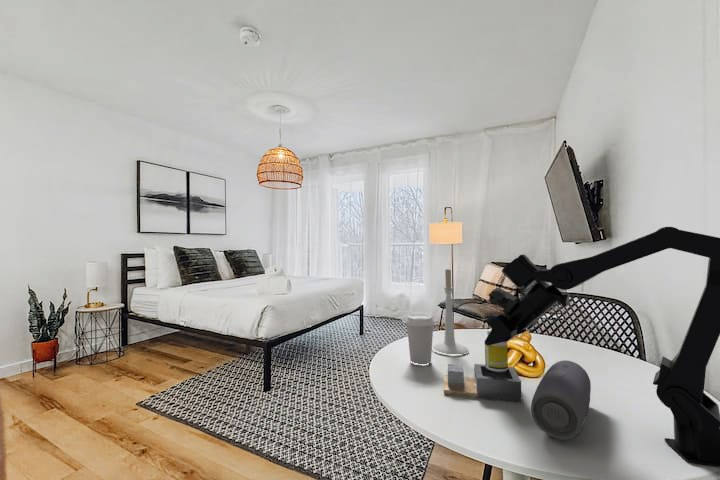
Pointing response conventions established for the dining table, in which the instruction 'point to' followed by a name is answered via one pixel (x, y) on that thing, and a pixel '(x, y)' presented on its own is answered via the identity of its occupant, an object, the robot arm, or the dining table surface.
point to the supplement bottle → (496, 356)
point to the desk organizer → (483, 384)
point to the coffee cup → (420, 337)
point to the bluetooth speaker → (562, 400)
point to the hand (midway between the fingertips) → (490, 341)
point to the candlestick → (449, 324)
